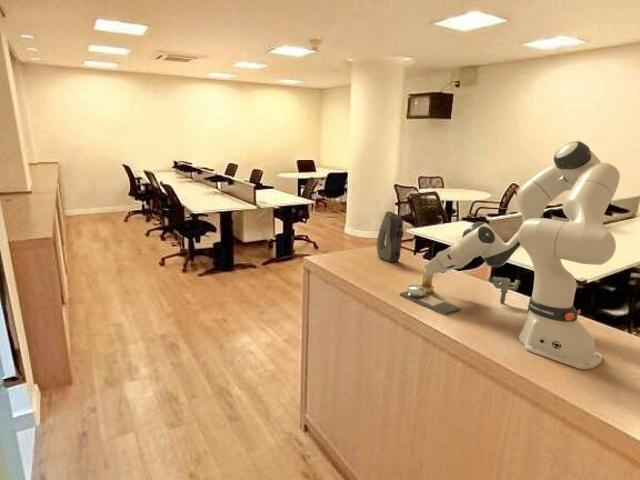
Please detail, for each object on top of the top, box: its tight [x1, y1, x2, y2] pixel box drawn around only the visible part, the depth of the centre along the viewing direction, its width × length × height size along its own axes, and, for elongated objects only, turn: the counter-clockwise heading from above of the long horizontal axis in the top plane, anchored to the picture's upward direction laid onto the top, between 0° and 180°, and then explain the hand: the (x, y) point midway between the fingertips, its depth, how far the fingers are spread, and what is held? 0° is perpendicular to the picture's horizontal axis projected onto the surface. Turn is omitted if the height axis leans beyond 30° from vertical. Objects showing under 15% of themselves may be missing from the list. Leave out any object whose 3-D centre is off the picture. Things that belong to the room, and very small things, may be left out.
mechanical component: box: [490, 276, 521, 305], centre depth 160 cm, size 3×10×10 cm, turn 78°
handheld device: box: [376, 210, 404, 264], centre depth 211 cm, size 6×15×25 cm, turn 36°
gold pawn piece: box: [420, 268, 434, 295], centre depth 169 cm, size 6×6×9 cm
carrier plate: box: [399, 283, 462, 316], centre depth 158 cm, size 22×9×4 cm, turn 36°
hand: (434, 273), depth 167 cm, fingers open, 8 cm apart
